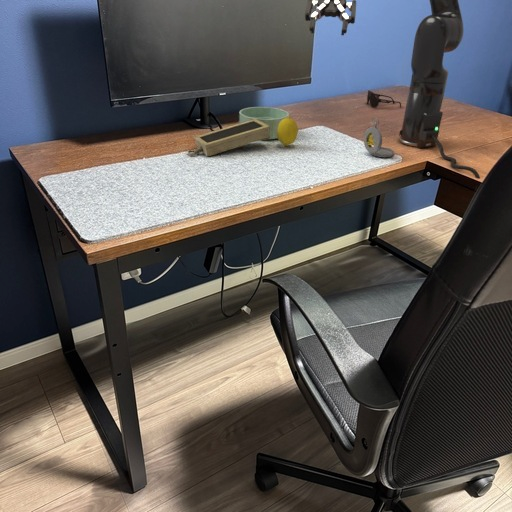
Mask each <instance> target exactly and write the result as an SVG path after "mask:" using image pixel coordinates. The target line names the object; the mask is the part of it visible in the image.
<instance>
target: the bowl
mask: <svg viewBox="0 0 512 512" xmlns="http://www.w3.org/2000/svg"><path fill="white" fill-rule="evenodd" d="M287 117H290V113H289V112H288V111H287V110H284V109H281V108H278V107H277V108H276V107H271V106H251V107H245V108H242V109H240V110H239V112H238V124H240V123H243V122H247V121H250V120H253V119H257V120H259V121H261V122H263V123H265V124H267V125H269V126H270V133H269V136H270V138H269V139H266V140H267V141H269V140H276V139H277V140H278V136H277V129H278V125H279V123H280V122H281V120H283V119H285V118H287ZM266 140H265V141H266Z"/></svg>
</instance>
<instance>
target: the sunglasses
mask: <svg viewBox="0 0 512 512" xmlns="http://www.w3.org/2000/svg"><path fill="white" fill-rule="evenodd" d="M380 97H385V98H389V99H383V98H380ZM379 103H382V104H391V103H392V104H396V103H398V104H399V108H402V102H400V101H395V100H394V98H393V97H392V96H388V95H385V94H379V93H375V92H373V91H371V90H367V96H366V104H367V105H369V104H370V107H371V108H374V109H376V108H378V106H379Z"/></svg>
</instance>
